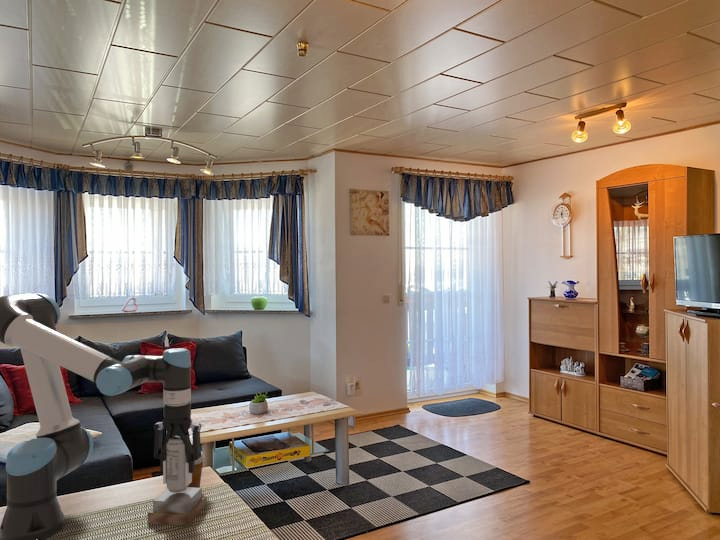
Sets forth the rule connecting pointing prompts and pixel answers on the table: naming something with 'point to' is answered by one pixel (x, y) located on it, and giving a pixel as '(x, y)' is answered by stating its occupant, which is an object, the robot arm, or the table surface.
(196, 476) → the disposable coffee cup
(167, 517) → the plinth
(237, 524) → the table surface
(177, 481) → the energy drink can
